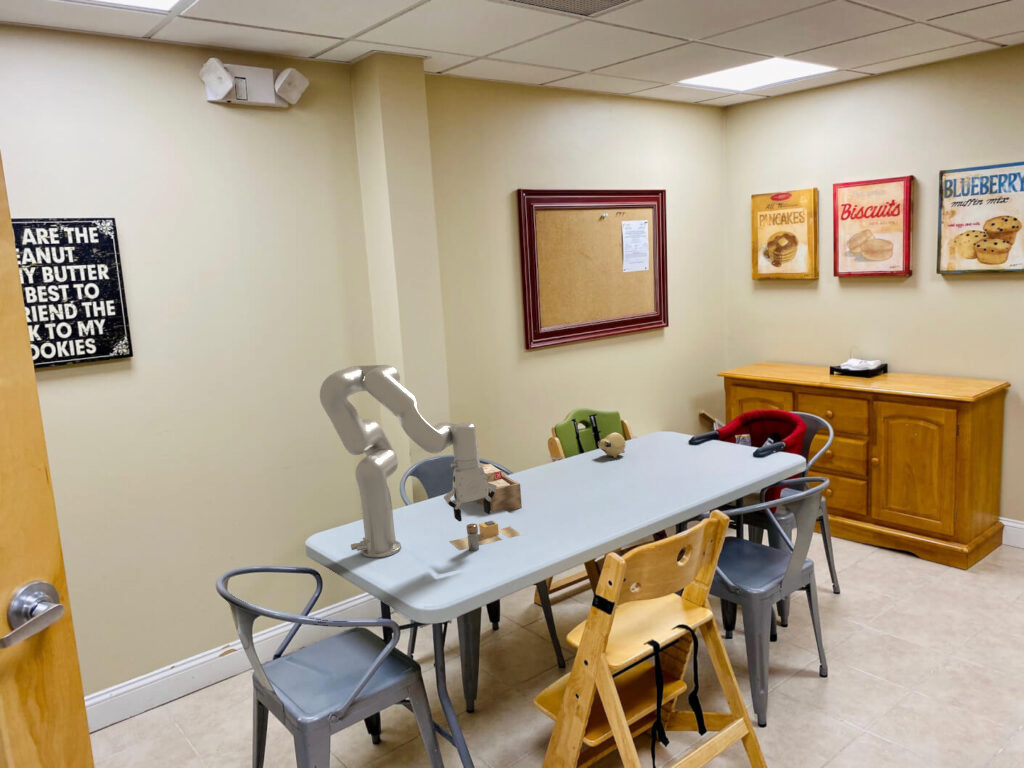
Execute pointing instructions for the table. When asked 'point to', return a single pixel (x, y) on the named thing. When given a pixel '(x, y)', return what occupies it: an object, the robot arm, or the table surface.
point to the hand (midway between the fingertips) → (473, 516)
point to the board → (485, 538)
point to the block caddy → (505, 496)
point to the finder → (488, 528)
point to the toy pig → (612, 444)
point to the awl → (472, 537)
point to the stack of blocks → (494, 476)
